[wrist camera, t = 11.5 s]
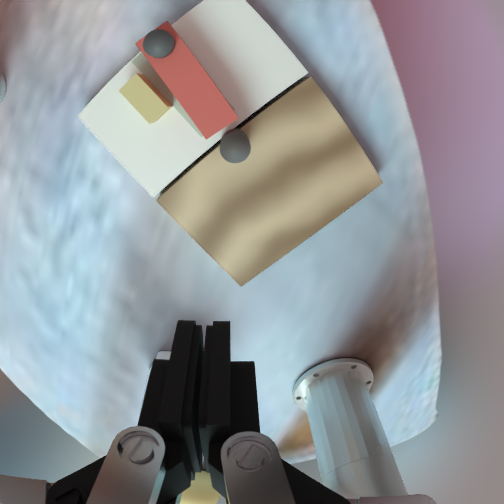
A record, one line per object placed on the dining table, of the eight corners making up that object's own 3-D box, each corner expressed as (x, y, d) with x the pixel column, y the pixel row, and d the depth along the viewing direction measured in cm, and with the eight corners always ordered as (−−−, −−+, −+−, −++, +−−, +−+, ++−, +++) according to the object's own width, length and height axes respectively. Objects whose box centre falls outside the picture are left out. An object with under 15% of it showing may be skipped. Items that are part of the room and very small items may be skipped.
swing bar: (237, 116, 26) (239, 119, 22) (208, 135, 27) (204, 142, 23) (173, 27, 22) (163, 17, 18) (144, 48, 22) (130, 41, 19)
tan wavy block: (375, 178, 31) (399, 193, 27) (240, 277, 36) (242, 306, 31) (302, 72, 26) (317, 68, 22) (155, 190, 31) (142, 209, 26)
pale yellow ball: (157, 473, 59) (154, 512, 50) (184, 459, 55) (182, 504, 46) (199, 485, 63) (198, 523, 53) (229, 472, 59) (230, 514, 50)
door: (304, 74, 26) (316, 71, 22) (157, 192, 31) (146, 207, 27) (228, -11, 22) (228, -27, 18) (84, 114, 26) (64, 119, 22)
